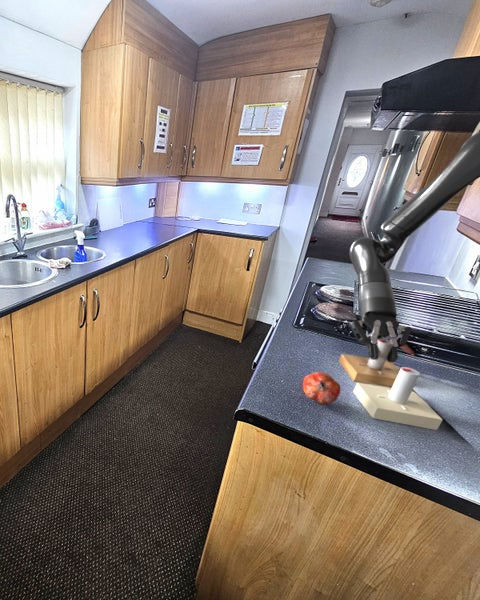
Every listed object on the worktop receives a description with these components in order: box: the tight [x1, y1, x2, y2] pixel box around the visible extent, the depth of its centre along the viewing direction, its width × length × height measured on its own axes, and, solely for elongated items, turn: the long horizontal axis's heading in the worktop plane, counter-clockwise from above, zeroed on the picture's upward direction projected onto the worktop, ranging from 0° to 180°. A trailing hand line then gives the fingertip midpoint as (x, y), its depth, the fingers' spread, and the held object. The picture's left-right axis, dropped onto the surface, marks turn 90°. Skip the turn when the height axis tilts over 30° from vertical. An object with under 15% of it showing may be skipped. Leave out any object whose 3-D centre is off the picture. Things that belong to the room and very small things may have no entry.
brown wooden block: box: [338, 353, 400, 388], centre depth 90 cm, size 12×10×3 cm
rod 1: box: [367, 337, 393, 370], centre depth 88 cm, size 3×3×8 cm
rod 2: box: [388, 366, 421, 404], centre depth 75 cm, size 3×3×8 cm
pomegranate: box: [302, 371, 341, 405], centre depth 80 cm, size 7×7×10 cm
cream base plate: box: [353, 382, 444, 431], centre depth 77 cm, size 12×10×3 cm
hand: (383, 359), depth 87 cm, fingers closed on rod 1, 3 cm apart
